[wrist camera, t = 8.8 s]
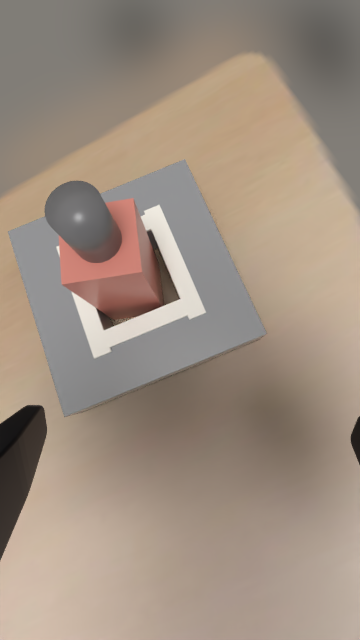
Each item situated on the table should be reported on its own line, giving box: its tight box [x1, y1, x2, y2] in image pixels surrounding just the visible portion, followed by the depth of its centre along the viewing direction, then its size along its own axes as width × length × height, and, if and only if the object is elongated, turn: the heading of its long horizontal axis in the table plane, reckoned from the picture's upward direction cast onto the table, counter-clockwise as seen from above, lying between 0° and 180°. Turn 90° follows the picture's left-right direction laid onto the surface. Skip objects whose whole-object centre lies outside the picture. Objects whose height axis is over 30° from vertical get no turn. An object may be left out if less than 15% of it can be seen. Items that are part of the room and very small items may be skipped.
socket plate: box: [8, 159, 267, 417], centre depth 23 cm, size 14×14×3 cm
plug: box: [45, 181, 164, 320], centre depth 18 cm, size 4×4×12 cm
